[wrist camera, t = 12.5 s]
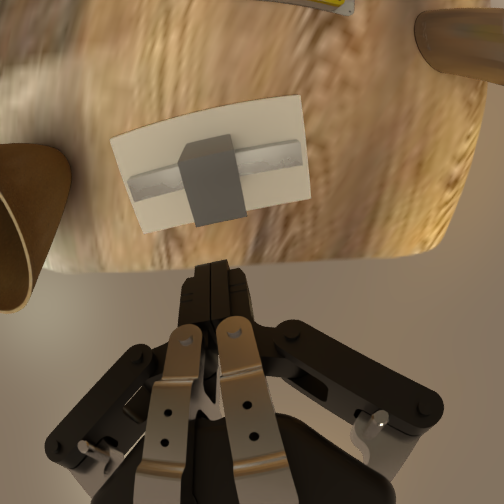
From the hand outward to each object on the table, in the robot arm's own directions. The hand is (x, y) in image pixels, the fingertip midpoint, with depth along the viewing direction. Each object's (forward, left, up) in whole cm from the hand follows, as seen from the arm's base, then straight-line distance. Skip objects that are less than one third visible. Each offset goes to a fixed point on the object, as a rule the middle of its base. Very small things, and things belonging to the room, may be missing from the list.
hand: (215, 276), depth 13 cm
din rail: (0, 0, -18) cm, 18 cm away
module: (0, 0, -18) cm, 18 cm away
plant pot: (+20, -5, -19) cm, 28 cm away
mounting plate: (0, 0, -19) cm, 19 cm away
